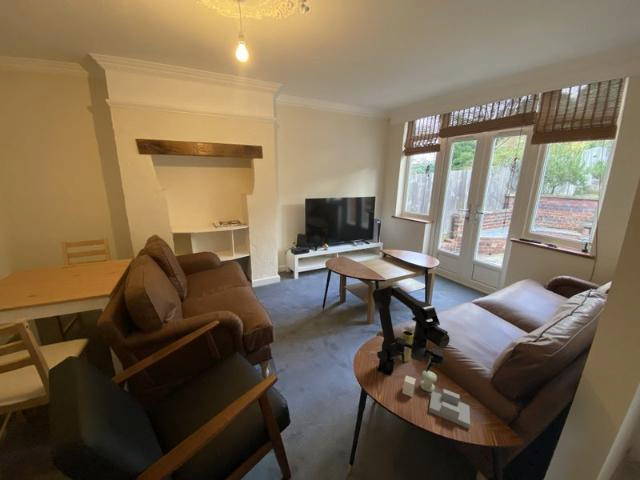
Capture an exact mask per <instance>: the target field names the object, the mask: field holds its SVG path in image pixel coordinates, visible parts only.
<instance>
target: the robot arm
mask: <svg viewBox="0 0 640 480" xmlns="http://www.w3.org/2000/svg"><path fill="white" fill-rule="evenodd" d="M392 297H394V298H395V299H396V300H398V302H400V303H402V304H403V305H404V306H406V307H407V308H408V309H410V311H411V313H412V315H413V316H414V317H411V320H412V321H414V322H415V325H414V331H413V340H412V345H411V344H408V343H405V342H406V339H402V337H400V336H398V337H396V338H395V331H394V327H393V322H392V316H391V310H390V305H391V303H392ZM372 299H373V302H374V304H375V306H376V307H377V308H378V311H379V312H378V313H379V318H380V323H381V330H382V335H383V341H382V344H381V350H380V351H377V352H376V356H377V359H379V362H378V366H377V368H376V369H377V371H378V372H381V373H383V374H386V375H388V376H392V373H394V370H395V365H396V361H395V359H399V358H398V357H399V356H400V355H401V356H402V361H401V362H402V365H405V362H404V361H405V348H407V349H410V350H411V355H410V359H412V360H414V361H418V362H420V363H423V362H424V361H427V360H428V361H427V365H426V369H425V371H426V372H427V371H430V369H431V367H432V366H433V365H439V364H440V365H442V364H443V363H444V352H443V350H444V349H446V348H447V346H448V345H449V344H450V340H451V339H450V335H449V334H448V333H449V332H448V330H445V329H443V328H441V327H439V326H440V325H441V323H440V319H439V317H438V314H437V311H436V308H435V306H434V305H432V304H431V303H428V302H425V301H421V300H419V299H417V298H415V297H414V296H413V295H411V294H409V293H408V292H406V291H405V290H403V289H402V288H401V287H399V285H396V284H394V285H393V284H392V285H388V286H387V287H382V288H376V289H374V290H373V291H372ZM428 342H431V343H432V344H434V345H435V346H436V347H438V348H439V349H438V348H436V347H432V350H430V349H428Z"/></svg>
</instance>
